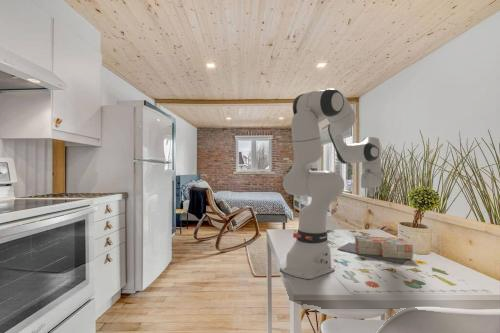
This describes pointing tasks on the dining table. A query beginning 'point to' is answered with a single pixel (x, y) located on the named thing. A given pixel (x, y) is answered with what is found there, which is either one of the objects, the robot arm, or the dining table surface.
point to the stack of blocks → (384, 246)
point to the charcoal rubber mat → (352, 249)
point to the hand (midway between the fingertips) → (371, 196)
